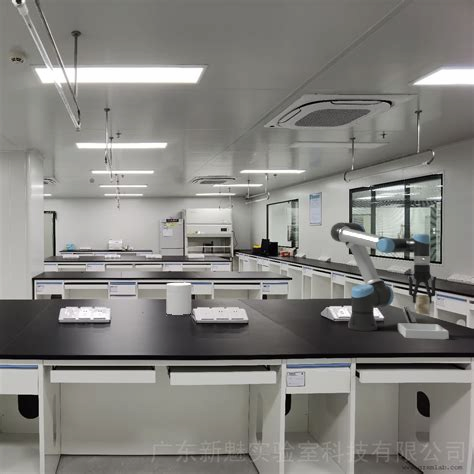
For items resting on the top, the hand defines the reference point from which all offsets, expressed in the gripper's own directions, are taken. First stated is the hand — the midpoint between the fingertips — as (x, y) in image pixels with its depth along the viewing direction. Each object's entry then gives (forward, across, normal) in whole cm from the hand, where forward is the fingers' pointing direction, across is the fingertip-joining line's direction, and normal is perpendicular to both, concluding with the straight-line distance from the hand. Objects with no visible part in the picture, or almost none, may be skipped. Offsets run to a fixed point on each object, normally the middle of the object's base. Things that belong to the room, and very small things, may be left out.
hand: (422, 309), depth 220 cm
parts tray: (+13, 0, 0) cm, 13 cm away
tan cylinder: (+2, 0, 0) cm, 2 cm away
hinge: (+13, +2, +39) cm, 41 cm away
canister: (+13, -140, +37) cm, 145 cm away
